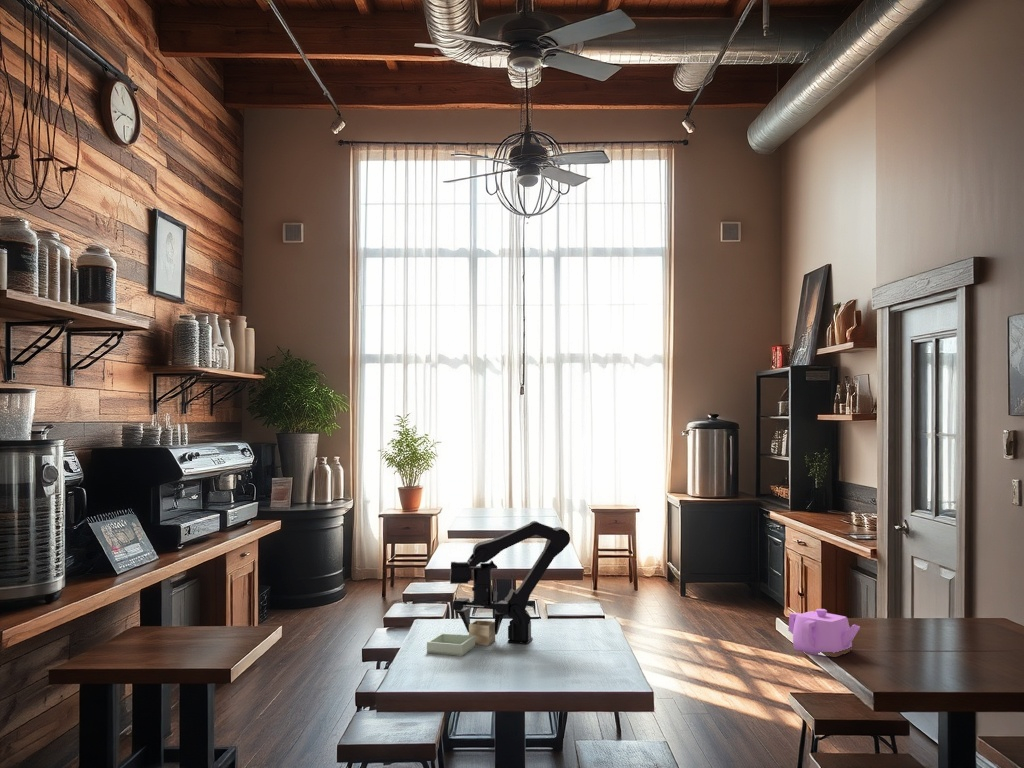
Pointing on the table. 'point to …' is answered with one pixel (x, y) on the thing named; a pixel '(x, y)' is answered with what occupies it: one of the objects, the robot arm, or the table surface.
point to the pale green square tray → (451, 644)
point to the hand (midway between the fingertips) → (482, 633)
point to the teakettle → (821, 632)
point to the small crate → (482, 632)
